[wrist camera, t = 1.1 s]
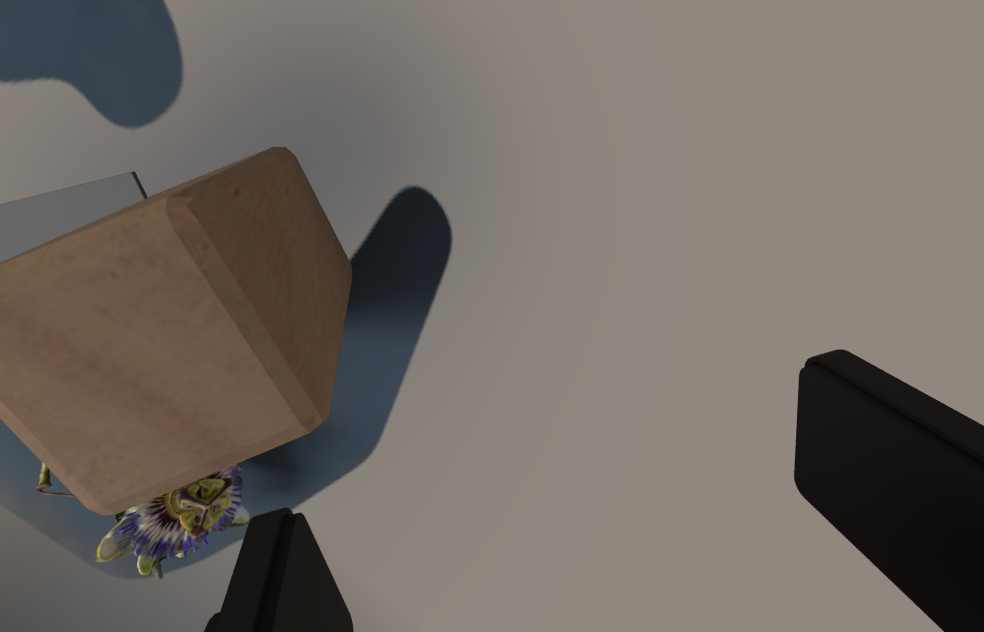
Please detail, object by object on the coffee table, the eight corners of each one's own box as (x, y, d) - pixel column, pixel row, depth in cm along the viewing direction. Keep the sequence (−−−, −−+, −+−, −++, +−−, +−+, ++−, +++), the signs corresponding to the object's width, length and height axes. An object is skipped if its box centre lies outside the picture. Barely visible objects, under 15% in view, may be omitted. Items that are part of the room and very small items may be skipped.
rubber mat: (-212, 256, 32) (-221, 258, 31) (134, 171, 33) (131, 172, 33) (-80, 417, 37) (-86, 421, 36) (216, 336, 38) (214, 338, 38)
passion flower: (245, 401, 47) (288, 524, 41) (125, 468, 45) (152, 607, 39) (162, 342, 37) (203, 492, 31) (4, 424, 35) (17, 600, 29)
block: (290, 139, 34) (186, 190, 16) (358, 273, 39) (336, 432, 20) (146, 198, 34) (-124, 315, 16) (230, 326, 38) (93, 535, 20)
